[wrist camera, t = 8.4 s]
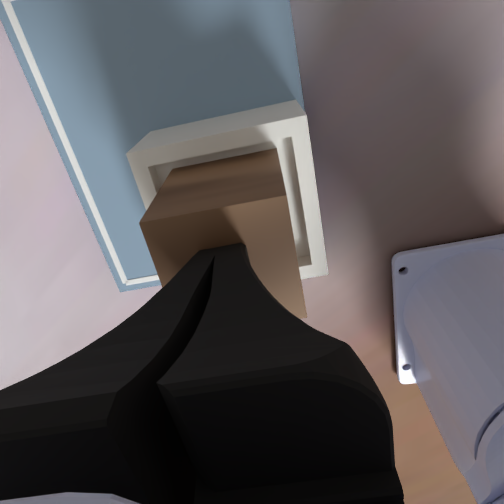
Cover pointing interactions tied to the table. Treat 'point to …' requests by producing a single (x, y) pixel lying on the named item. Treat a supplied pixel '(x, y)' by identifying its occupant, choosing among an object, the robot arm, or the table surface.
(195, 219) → the walnut block
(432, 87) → the table surface
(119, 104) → the blueprint board
